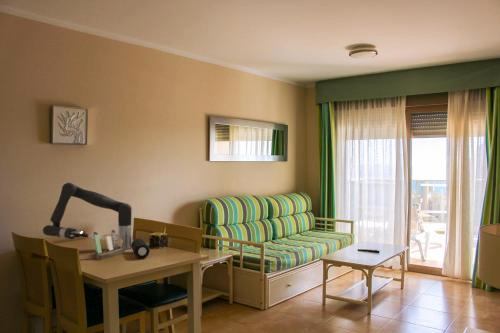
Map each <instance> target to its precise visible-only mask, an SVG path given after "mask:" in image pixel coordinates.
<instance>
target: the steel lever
mask: <svg viewBox="0 0 500 333" xmlns="http://www.w3.org/2000/svg"><path fill="white" fill-rule="evenodd" d="M110 232H111V240H112V245H113V247H116V249H118V238H117V237H118V236H117V234H116V231H115V230H114V229H112V230H111V231H110ZM115 240H117V242H116V241H115Z"/></svg>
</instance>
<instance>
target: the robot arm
mask: <svg viewBox="0 0 500 333" xmlns="http://www.w3.org/2000/svg"><path fill="white" fill-rule="evenodd" d="M71 197H73V198H78V199H80V200H82V201H84V202H86V203H88V204H90V205H92V206H96V207H98V208H102V209H107V210H112V211H114V212H116V213H118V216H117V217H118V219H117V220H118V223H117V224H118V225H117V226H118V229H117V230H118V231H117V233H118V235H117V237H118V238H117V240H118V239H122V240H123V243H122V246H121V247H120V249H124V250H129V249H132V247H131V244H132V237H133V236H132V212H133V210H132V208H133V207H132V206H131V204H129V203H127V202H121V201H118V200H115V199H114V198H113V199H112V198H111V197H110V196H109V197H108V196H106V195H104V194H101V193H98V192H96V191H92V190H88V189H84V188H82V187H79V186H78V185H75V184H74V183H72V182H66V183H64V184H63V185H62V187H61V191H60V195H59V197H58V201H57V204H56V206H55V208H54V210H53V212H52V214H51V216H50V219H49V221H50V222H51V223H52V225H50V224H47V225H45V226H44V227H43V228H42V233H43V235H45V236H49V237H56V238H57V237H58V238H63V239H66V240H67V239H68V240H74V239H76V238H89V233H86V231H80V230H77V228H74V227H67V226H66V227H62V226H61V221H62V220H63V217H64V214H65V212H66V208H67V205H68V203H69V201H70V199H71Z"/></svg>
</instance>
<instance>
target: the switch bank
mask: <svg viewBox="0 0 500 333" xmlns="http://www.w3.org/2000/svg"><path fill="white" fill-rule="evenodd" d="M124 254H125V249H120V246H118V249H116V247H114V246H113V250H110V251H109V249H107V248H106V249H105V250H102V253H99V254H98V252H96V251H95V252H93V253H90V259H92V260H97V261H98V260H99V261H103V260H105V259H109V258H113V257H116V256H119V255H124Z"/></svg>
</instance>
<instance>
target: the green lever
mask: <svg viewBox="0 0 500 333" xmlns="http://www.w3.org/2000/svg"><path fill="white" fill-rule="evenodd" d="M92 238H93V243H94V248H95V252H98V254H99V253H102V251H103V250H102V246H101V241H100V235H99V233H98V232H97V231H94V232H93V234H92Z"/></svg>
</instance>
